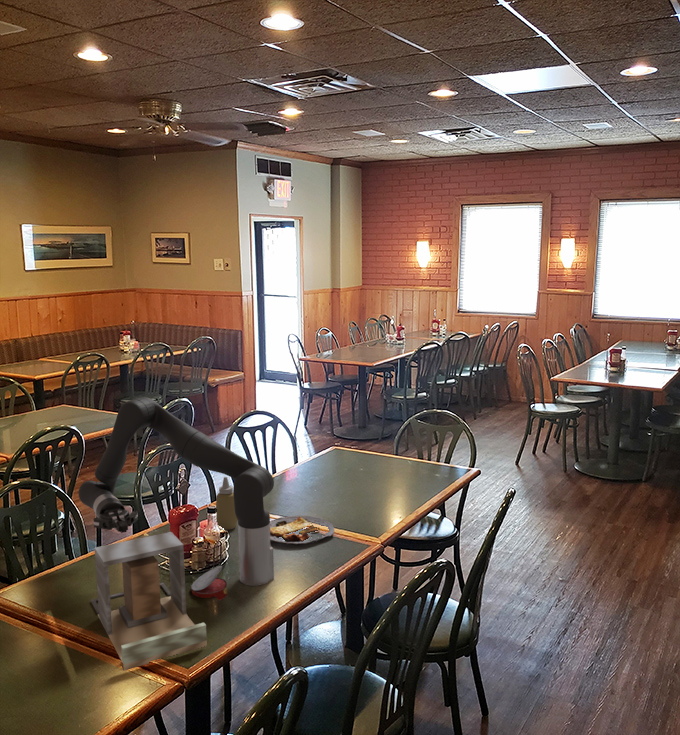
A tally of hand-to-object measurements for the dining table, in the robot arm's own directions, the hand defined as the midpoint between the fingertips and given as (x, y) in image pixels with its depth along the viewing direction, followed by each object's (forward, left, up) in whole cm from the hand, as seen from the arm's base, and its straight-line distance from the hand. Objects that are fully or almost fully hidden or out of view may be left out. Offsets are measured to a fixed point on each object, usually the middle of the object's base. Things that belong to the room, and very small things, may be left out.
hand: (123, 529), depth 197 cm
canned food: (-20, +10, -20) cm, 30 cm away
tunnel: (0, +18, -20) cm, 27 cm away
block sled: (0, +15, -19) cm, 24 cm away
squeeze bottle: (-43, -34, -20) cm, 58 cm away
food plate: (-61, -16, -21) cm, 66 cm away
